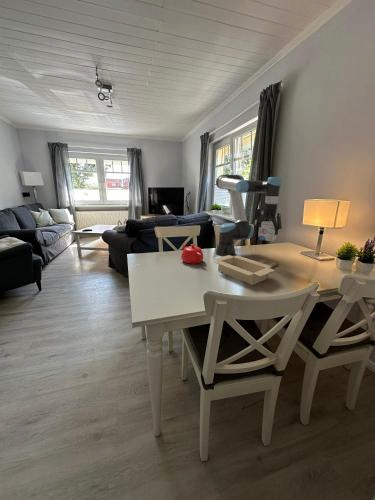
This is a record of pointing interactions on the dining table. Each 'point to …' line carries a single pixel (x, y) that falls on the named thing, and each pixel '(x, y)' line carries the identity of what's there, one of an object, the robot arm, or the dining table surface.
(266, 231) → the ink box
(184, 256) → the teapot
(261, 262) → the board
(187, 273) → the dining table surface
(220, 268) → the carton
